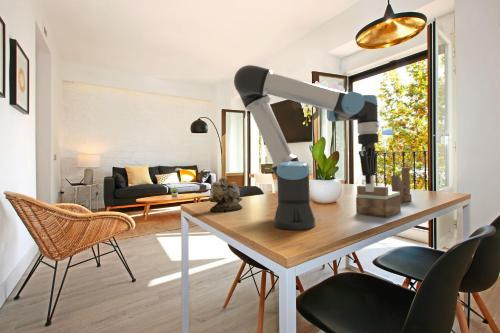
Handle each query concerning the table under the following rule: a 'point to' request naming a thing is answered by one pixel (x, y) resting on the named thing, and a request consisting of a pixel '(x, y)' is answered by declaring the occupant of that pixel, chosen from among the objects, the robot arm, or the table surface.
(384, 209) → the toolbox
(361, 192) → the lid
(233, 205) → the owl figurine
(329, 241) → the table surface
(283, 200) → the robot arm
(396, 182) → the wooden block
